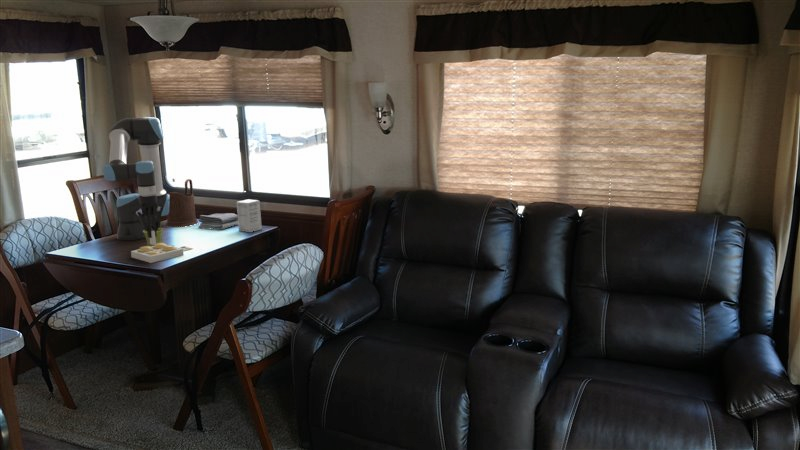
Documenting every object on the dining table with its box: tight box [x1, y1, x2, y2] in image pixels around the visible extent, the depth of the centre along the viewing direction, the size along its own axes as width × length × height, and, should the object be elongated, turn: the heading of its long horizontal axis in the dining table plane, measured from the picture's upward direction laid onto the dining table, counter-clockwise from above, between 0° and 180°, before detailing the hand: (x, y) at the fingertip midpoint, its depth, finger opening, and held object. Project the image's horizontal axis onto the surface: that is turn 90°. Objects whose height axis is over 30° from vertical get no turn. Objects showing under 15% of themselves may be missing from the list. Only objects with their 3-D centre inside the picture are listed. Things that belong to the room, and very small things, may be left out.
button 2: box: [148, 251, 160, 255], centre depth 284 cm, size 5×5×3 cm
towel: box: [198, 212, 238, 231], centre depth 350 cm, size 15×18×8 cm
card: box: [178, 246, 194, 252], centre depth 301 cm, size 7×7×1 cm
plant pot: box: [143, 227, 164, 247], centre depth 306 cm, size 9×9×9 cm
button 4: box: [163, 244, 175, 252], centre depth 289 cm, size 5×5×3 cm
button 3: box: [154, 242, 166, 249], centre depth 294 cm, size 5×5×3 cm
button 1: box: [139, 245, 151, 253], centre depth 288 cm, size 5×5×3 cm
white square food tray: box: [130, 243, 184, 264], centre depth 289 cm, size 17×17×3 cm
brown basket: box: [165, 178, 199, 228], centre depth 359 cm, size 18×24×25 cm
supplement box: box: [236, 198, 263, 233], centre depth 339 cm, size 10×9×17 cm
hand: (153, 243), depth 283 cm, fingers closed
